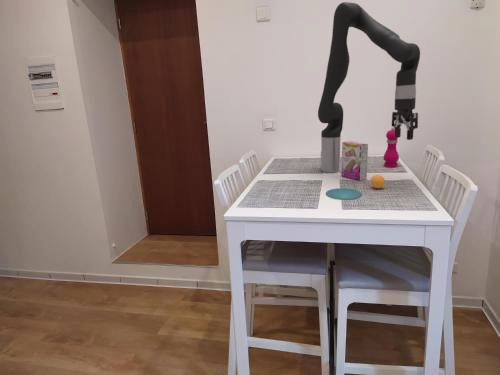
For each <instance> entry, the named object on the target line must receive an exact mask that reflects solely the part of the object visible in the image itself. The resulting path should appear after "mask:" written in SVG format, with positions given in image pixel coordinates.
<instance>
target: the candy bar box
mask: <svg viewBox="0 0 500 375" xmlns="http://www.w3.org/2000/svg"><path fill="white" fill-rule="evenodd" d="M341 144H342V146H341V148H342V149H341V177H345V178H348V179H352V180H355V181H359V182H361V181H364V180H367V177H368V174H367V173H368V154H369V152H368V151H369V144H368V143H366V142H365V143H364V142H359V141H352V140H346V141H342V143H341Z"/></svg>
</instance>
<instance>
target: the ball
mask: <svg viewBox="0 0 500 375" xmlns="http://www.w3.org/2000/svg"><path fill="white" fill-rule="evenodd" d="M385 184H386V179H385V177H384V176H382V175H381V174H375V175H373V176H372V177H371V178H370V185H371V187H373V188H374V189H382V188H383V187H385Z"/></svg>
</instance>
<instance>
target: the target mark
mask: <svg viewBox="0 0 500 375" xmlns="http://www.w3.org/2000/svg"><path fill="white" fill-rule="evenodd" d="M325 196H326V197H328V198H331V199H335V200H341V201H342V200H343V201H346V200H347V201H351V200H356V199H359V198H361V197H362V196H363V193H362V192H361V191H360V190H357V189H354V188H345V187H342V188H341V187H339V188H332V189H329V190H327V191H326V192H325Z"/></svg>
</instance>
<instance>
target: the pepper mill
mask: <svg viewBox="0 0 500 375" xmlns="http://www.w3.org/2000/svg"><path fill="white" fill-rule="evenodd" d="M385 136H386V144H387V148H386V150H385V152H384V155H383V158H382V159H383V161H384V162H383V167H385V168H390V169H392V168H397V167H398V163H397V162H399V159H400V155H399V153H398V150H397V143H398V141H399V140H398V138H399V137H395V128H394V127H393V126H391V128H390V130H388V131H386V135H385Z"/></svg>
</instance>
